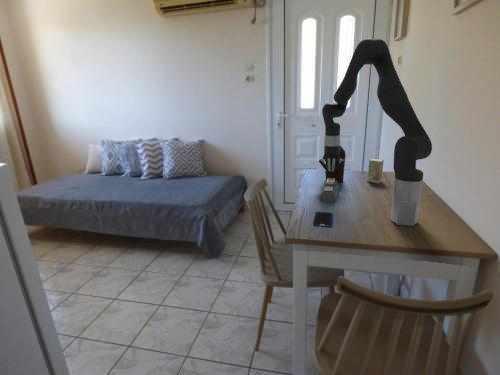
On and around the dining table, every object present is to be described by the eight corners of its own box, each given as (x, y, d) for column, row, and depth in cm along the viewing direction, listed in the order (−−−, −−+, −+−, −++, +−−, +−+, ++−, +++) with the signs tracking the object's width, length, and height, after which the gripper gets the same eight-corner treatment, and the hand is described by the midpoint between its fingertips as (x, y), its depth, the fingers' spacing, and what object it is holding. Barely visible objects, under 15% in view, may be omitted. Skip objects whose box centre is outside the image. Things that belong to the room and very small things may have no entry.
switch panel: (335, 202, 139) (335, 193, 138) (319, 201, 141) (320, 192, 140) (338, 187, 159) (338, 179, 157) (324, 186, 161) (324, 179, 160)
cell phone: (312, 227, 117) (312, 225, 117) (315, 213, 130) (315, 211, 129) (332, 228, 115) (332, 226, 115) (333, 214, 128) (333, 212, 127)
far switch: (333, 184, 151) (334, 182, 151) (326, 184, 153) (326, 181, 152) (334, 180, 156) (334, 177, 155) (327, 179, 157) (327, 177, 156)
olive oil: (348, 181, 167) (350, 136, 159) (336, 185, 161) (337, 139, 153) (332, 177, 175) (334, 134, 168) (320, 181, 169) (321, 137, 162)
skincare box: (367, 181, 165) (368, 159, 161) (370, 179, 168) (371, 158, 164) (378, 183, 161) (380, 161, 157) (381, 181, 164) (383, 159, 160)
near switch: (332, 191, 140) (332, 188, 140) (324, 190, 141) (324, 187, 141) (333, 189, 145) (333, 186, 145) (325, 188, 146) (325, 186, 146)
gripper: (317, 145, 148) (317, 179, 154) (345, 145, 144) (344, 180, 150) (319, 142, 155) (318, 175, 161) (346, 142, 151) (344, 176, 156)
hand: (330, 177), depth 155 cm, fingers closed
